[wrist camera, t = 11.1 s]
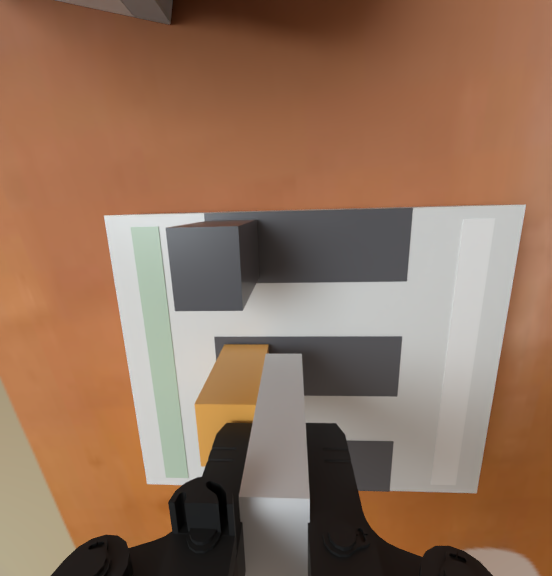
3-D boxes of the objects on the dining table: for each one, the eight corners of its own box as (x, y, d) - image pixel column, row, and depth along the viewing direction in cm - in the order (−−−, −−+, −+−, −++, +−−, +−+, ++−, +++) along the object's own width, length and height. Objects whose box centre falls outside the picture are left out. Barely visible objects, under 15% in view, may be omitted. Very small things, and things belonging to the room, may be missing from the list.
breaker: (257, 219, 13) (237, 226, 8) (259, 277, 13) (243, 310, 9) (208, 220, 13) (165, 227, 8) (212, 277, 13) (175, 311, 9)
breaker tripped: (268, 344, 14) (257, 404, 10) (270, 391, 15) (260, 467, 10) (224, 344, 14) (194, 403, 10) (227, 391, 15) (200, 466, 10)
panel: (481, 205, 15) (526, 204, 12) (447, 448, 19) (477, 493, 16) (138, 214, 16) (103, 215, 13) (168, 442, 20) (146, 484, 17)
